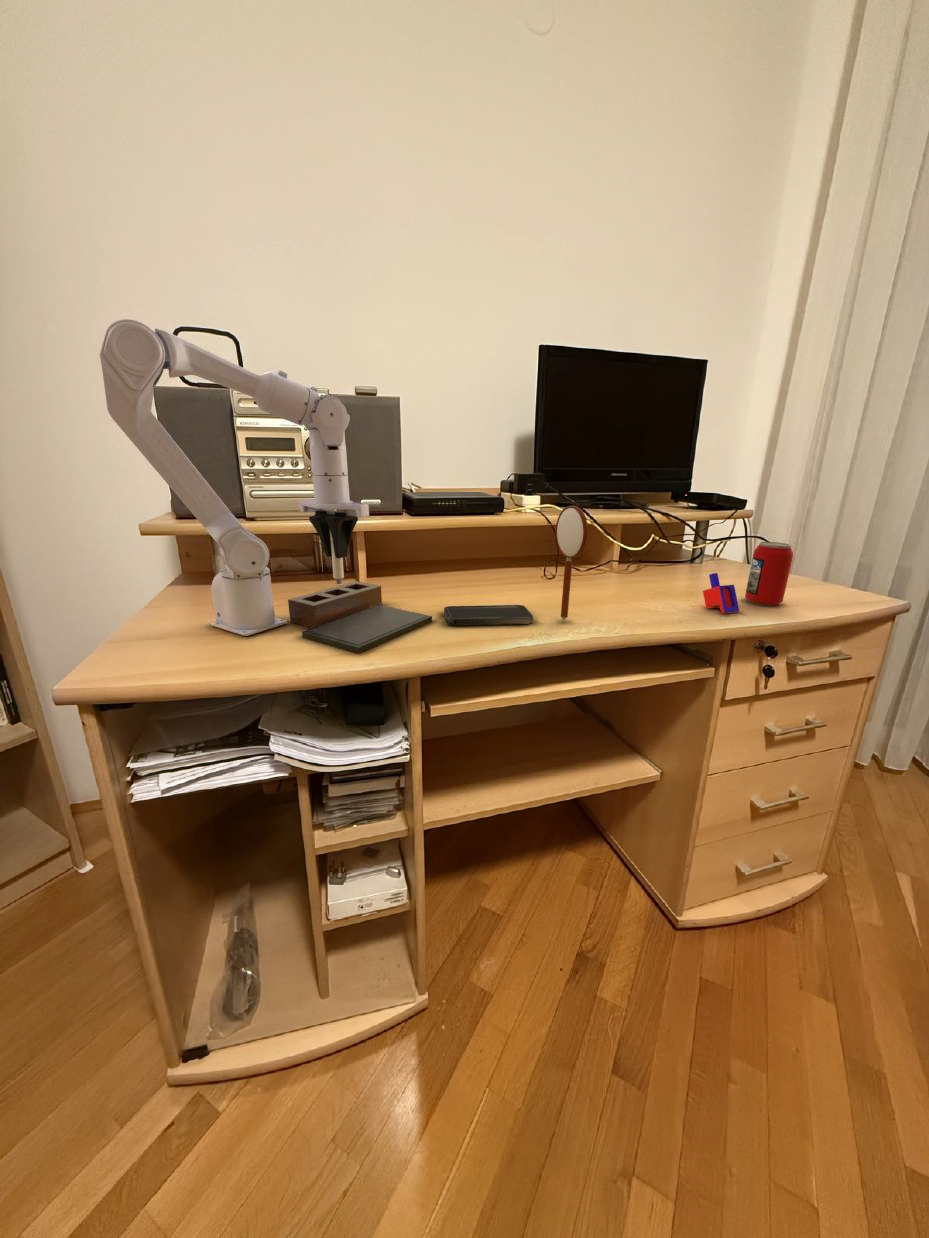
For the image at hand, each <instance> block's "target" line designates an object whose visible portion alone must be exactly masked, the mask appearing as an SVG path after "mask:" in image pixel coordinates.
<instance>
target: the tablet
mask: <svg viewBox="0 0 929 1238" xmlns="http://www.w3.org/2000/svg"><path fill="white" fill-rule="evenodd" d="M432 622H433V616H432V615H429V614H424V613H418V612H415V611H409V610H405V609H401V608H396V607H393V606H387V605H383V604H382V605H378V606H375V607H372V608H369V609H366V610H363V611H360V612H357V613H354V614H352V615H349V616H346V617H343V618H340V619H337V620H334V621H331V622H328V623H325V624H322V625H320V626H317V627H314V628H311V627H310V628H308V629H305V630H302V631H301V638H303V639H306V640H310V641H313V642H317V643H320V644H324V645H326V646H327V645H328V646H330V647H334V648H337V649H340V650H343V651H347V652H351V653H354V654H358V655H360V654H362V653H364V652H366V651H369V650H371V649H374V648H376V647H378V646H380V645H383V644H385V643H386V642H387V643H388V642H389V641H391V640H394V639H397V638H398V637H401V636H403V635H405V634H407V633H410V632H412V631H414V630H417V629H418V628H421V627H423V626H426V625H428V624H430V623H432Z"/></svg>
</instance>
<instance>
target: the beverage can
mask: <svg viewBox="0 0 929 1238" xmlns="http://www.w3.org/2000/svg"><path fill="white" fill-rule="evenodd" d="M793 558H794V552H793V549H792V545H791V544H790V543H786V542H785V543H784V542H777V541H760V542H759V544H758V545H757V546H756V548H755V549H754V550H753V554H752V559H751V563H750V568H749V574H748V578H747V583H746V589H745V594H744V598H746V599H747V600H748V601H749V603H753V604H754V605H760V606H767V607H768V606H771V607H773V606H776V605H779V604H781V603H783V601H784V597H785V594H786V589H787V586H788V581H789V578H790V577H789V576H790V572H791V568H792V564H793Z"/></svg>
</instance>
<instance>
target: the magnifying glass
mask: <svg viewBox="0 0 929 1238" xmlns="http://www.w3.org/2000/svg"><path fill="white" fill-rule="evenodd" d="M588 538H589V525H588V521H587V517H586V515H585V513H584V512H583V510H582V509H581V508H580V507H579V506H578V505H567V506H565V507H564V508H563V509H562V510H561V511H560V513H559V515H558V517H557V519H556V524H555V541H556V545H557V548H558V550H559V552H560V553H561V555H562V556H564V557H565V558H566V559H565V560H564V568H563V570H564V571H563V581H562V582H563V583H562V595H561V606H560V608H561V609H560V618H561V623H565V622H566V621H567V618H568V617H569V605H570V594H571V581H572V571H573V560H574V559H576V558H578V557H580V556H581V554H583V552H584V550H585V549H586V547H587V544H588ZM572 559H573V560H572Z"/></svg>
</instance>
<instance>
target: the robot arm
mask: <svg viewBox="0 0 929 1238" xmlns="http://www.w3.org/2000/svg"><path fill="white" fill-rule="evenodd" d="M99 360H100V366H101V371H102V379H103V386H104V394H105V402H106V409H107V412H108V414H109V416H110V417H111V419H112V420H113V422H115V424H116V425H117V426H118V427H119V428H120V430H121V431H122V432H123V433H124V434H125V435H126V437H127V438H128V439H129V441H130V442H131V443H132V444H133V445H134V446H135V447H136V449H137V450H138V451H139V452H140V454H141V455H142V456H143V457H144V458H145V459H146V460H147V462H148V463H149V464H150V465H151V467H153V469H154V470H156V472H157V473H158V475H159V476H160V477H161V478H162V480H164V481H165V483H166V484H167V485H168V486H169V488H170V489H171V491H173V493H175V495H176V496H177V497H178V498H179V500H180V501H181V502H182V503H183V505H185V507H186V508H187V509H188V510H189V511H190V513H191V514H192V515H193V516H194V517H195V518H196V520H197V521H198V522H199V523H200V524H201V525H202V527H203V528H204V530H206V532H207V533H208V534H209V535H210V537H212V539H213V540H214V541H215V543H216V545H217V550H218V553H219V556H220V557H221V558H222V559H223V561H224V562H225V564H224V566H223V567H222V569H221V570H220V571H219V573H217V574H216V575H215V576H214V577H213V580H212V582H211V587H210V589H211V590H210V591H211V598H212V603H213V612H214V617H215V621H212V622H211V623H210V625H211V627H215V628H218V629H221V630H225V631H227V632H230V633H234V634H237V635H240V636H244V637H248V636H251V635H255V634H258V633H262V632H264V631H267V630H271V629H273V628H277V627H281V626H283V625H286V624H287V623H288V621H287V620H286V619H283V618H280V617H279V618H278V617H276V615H275V614H276V613H275V606H274V597H273V587H272V578H271V570H270V568H269V567H268V564H269V562H270V551H269V548H268V546H267V544H266V543H265V542H264V541H263V540H262V539H261V538H259V537H258V536H256V534H254V533H253V532H252V531H250V530H249V529H247V528H245V527H244V526H243V525H242V523H241V522H240V521H239V520H238V518H237V517H236V516H235V515H234V513H233V512H232V511H231V510H230V509H229V508H228V507H227V505H226V504H225V503H224V501H223V500H222V499H221V497H220V496H219V495H218V494H217V493H216V491H215V490H214V489H213V487H212V486H211V485H210V484H209V482H208V480H206V479H205V477H203V475H202V474H201V472H200V471H199V470H198V469H197V468H196V466H195V465H194V463H193V462H192V461H191V460H190V459H189V457H188V456H187V455H186V453H185V452H184V451H183V450H182V449H181V448H180V446H179V445H178V444H177V442H176V441H175V440H174V439H173V437H172V436H171V435H170V433H169V432H168V430H166V428H165V427H164V426H163V425H162V423H161V421H159V419H158V418H157V417H156V416H155V415H154V413H153V411H152V407H153V400H154V394H155V393H154V389H155V388H156V386H157V384H158V383H159V381H160V379H161V377H162V375H163V373H164V370H168V377H169V379H172V378H179V377H187V376H195V377H198V378H201V379H204V380H206V381H209V382H212V383H214V384H217V385H219V386H222V387H225V388H227V389H231V390H233V391H236V392H238V393H241V394H242V395H243V394H244V395H246V396H249V397H251V398H252V399H253V401H254V402H255V404H256V405H257V407H258V409H259V410H261V411H263V412H265V413H268V414H270V415H273V416H275V417H278V418H280V419H283V420H285V421H287V422H291V423H293V424H296V425H298V426H300V427H302V426H304V427H305V428H306V430H307V431H308V437H309V452H310V464H311V474H312V487H313V497H314V499H303V500H298V504H299V513H314V515H310V516H308V521H309V522H310V523H311V525H312V527H313V528H314V529H315V531H316V533H317V535H318V536H319V539H320V542H321V545H322V547H323V550H324V553H325V556H326V557H329V558H330V557H332V553H331V541H330V532H331V535H332V539H333V546H334V553H335V556H336V558H342V557H343V558H347V557H348V554H349V553H348V552H349V547H350V542H351V538H352V534H353V532H354V529H355V527H356V525H357V523H358V521H359V518H366V517H370V507H369V503H360V502H354V501H353V500H351V499H350V485H349V469H348V457H347V456H348V455H347V445H346V435H345V434H346V433H345V432H346V429H348V426H349V424H350V418H351V416H350V414H348V410H347V408H346V406H345V404H344V403H343V402H342V400H341V399H339V398H338V397H336V396H334V395H331V394H324V395H320V394H319V388H317V387H315V386H310V387H307V386H306V385H303V384H301V383H299V382H296V381H295V380H292V379H289V378H288V376H289V375H288V373H287V372H285V371H283V370H278V371H277V372H274V371H272V370H268V371H266V372H264V373H262V374H258V373H255V372H252V371H250V370H249V369H247V368H244V367H242V366H240V365H238V364H236V363H235V362H232V361H230V360H228V359H226V358H224V357H222V356H220V355H217V354H216V353H213V352H211V351H209V350H208V349H205V348H203V347H201V346H199V345H196V344H194V343H192V342H191V341H188V340H186V339H184V338H182V337H180V336H178V335H175V334H173V333H171V332H169V331H166V330H163V329H159V328H154V330H153V329H152V328H151V327H149V326H148V325H147V324H145V323H143V322H141V321H138V320H135V319H130V318H129V319H128V318H124V319H123V318H122V319H118V320H116V321H114V322H112V323H111V324H109V326H108V327H107V328H106V330H105V332H104V337H103V339H102V343H101V347H100V351H99Z"/></svg>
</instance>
